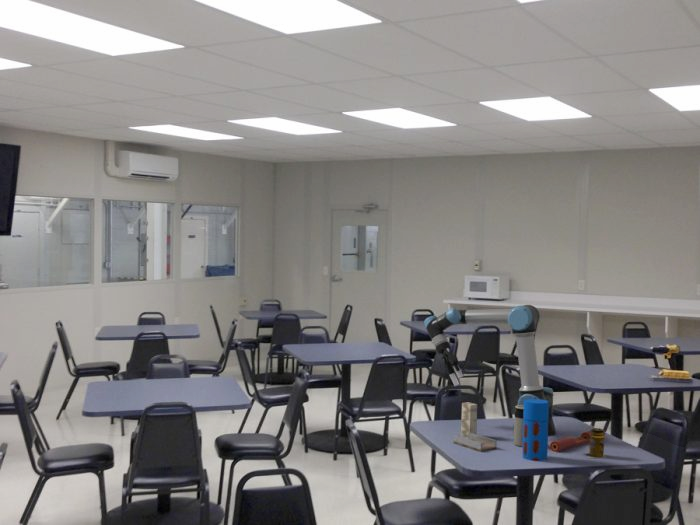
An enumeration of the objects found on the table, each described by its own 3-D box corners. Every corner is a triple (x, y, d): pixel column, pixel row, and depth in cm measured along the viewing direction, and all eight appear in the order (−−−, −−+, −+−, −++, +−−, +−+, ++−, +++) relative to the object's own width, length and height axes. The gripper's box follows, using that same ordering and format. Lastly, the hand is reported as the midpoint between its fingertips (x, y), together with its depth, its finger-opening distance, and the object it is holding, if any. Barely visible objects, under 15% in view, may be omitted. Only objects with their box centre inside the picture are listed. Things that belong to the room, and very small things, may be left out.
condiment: (607, 457, 343) (608, 430, 343) (590, 458, 341) (591, 431, 341) (598, 453, 350) (599, 427, 350) (581, 454, 348) (582, 427, 348)
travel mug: (510, 444, 363) (511, 406, 362) (519, 441, 368) (520, 404, 368) (525, 447, 357) (526, 409, 357) (534, 445, 363) (535, 406, 363)
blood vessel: (559, 453, 350) (559, 442, 350) (549, 451, 354) (550, 440, 354) (604, 439, 379) (605, 429, 379) (595, 437, 383) (595, 427, 383)
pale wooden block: (461, 435, 378) (461, 403, 378) (467, 434, 381) (468, 402, 381) (469, 438, 373) (470, 405, 373) (476, 437, 376) (477, 404, 376)
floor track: (453, 443, 363) (453, 434, 363) (469, 440, 369) (469, 432, 369) (480, 451, 348) (480, 443, 348) (496, 449, 354) (496, 440, 354)
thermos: (547, 461, 334) (549, 404, 334) (522, 459, 336) (524, 402, 336) (546, 455, 345) (548, 399, 344) (522, 453, 347) (523, 398, 346)
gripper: (432, 354, 411) (449, 391, 402) (437, 338, 388) (455, 376, 380) (445, 350, 412) (462, 386, 403) (451, 333, 389) (469, 371, 381)
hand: (459, 381), depth 391 cm, fingers open, 13 cm apart
